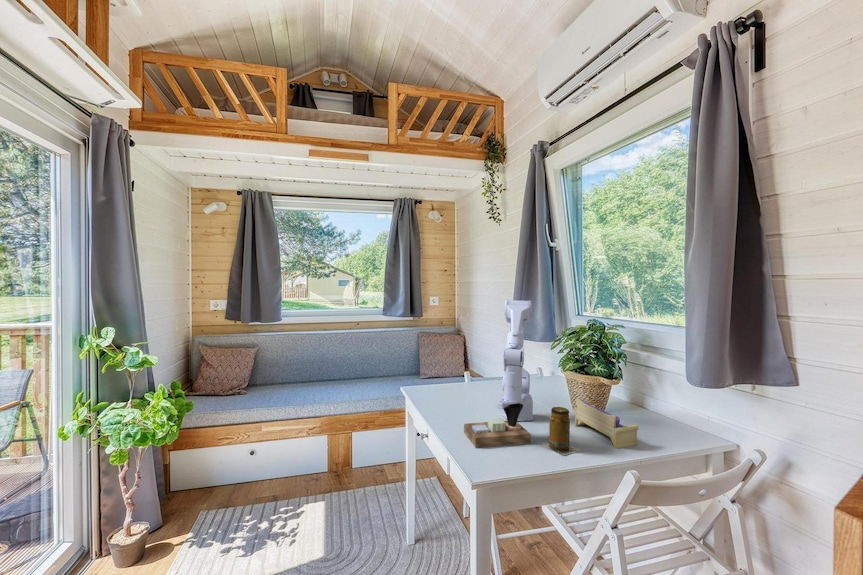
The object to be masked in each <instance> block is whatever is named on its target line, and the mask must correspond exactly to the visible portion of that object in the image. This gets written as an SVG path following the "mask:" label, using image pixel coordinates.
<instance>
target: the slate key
mask: <svg viewBox="0 0 863 575" xmlns="http://www.w3.org/2000/svg"><path fill="white" fill-rule="evenodd" d="M472 430H473V431H474V432H475V433H487V432H489V429H488V428H487V427H486V426H485V425H474V426H472Z"/></svg>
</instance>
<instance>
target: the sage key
mask: <svg viewBox="0 0 863 575" xmlns="http://www.w3.org/2000/svg"><path fill="white" fill-rule="evenodd" d="M504 421H505V420H503V419H502V418H500V417H499V418H487V422H488V428H489V429H490V431H491V432H501V431H505V424H506V423H505V422H504Z"/></svg>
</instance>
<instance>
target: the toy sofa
mask: <svg viewBox="0 0 863 575" xmlns="http://www.w3.org/2000/svg"><path fill="white" fill-rule="evenodd" d="M575 403H576V406H575V407H574V414H575V415H574V426H575V427H576V426H577V427H579V426H580V427H581V426H589V427H591V428H593V429H594V430H596V431H598V432H600V433H602V434H604V435H605V436H607V437H609V438H610V441H611V443H612V444H613V449H620V448H621V449H622V448H629V447H634V446H637V445H638V444H637V443H638V442H637V441H638V440H637V439H638V430H639V428H640V427H639V425H638V424H632V425H631V424H630V425H626V426H625V425H623V424H621V422H620V421H621V420H620V418H619V416H617V415H615V414H612V413H609V412H607V411H605V410H603V409H600V408H598V407H596V405H593V404H590V403H588V402H587V401H585V400H583V399H581V398H576V401H575Z"/></svg>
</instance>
